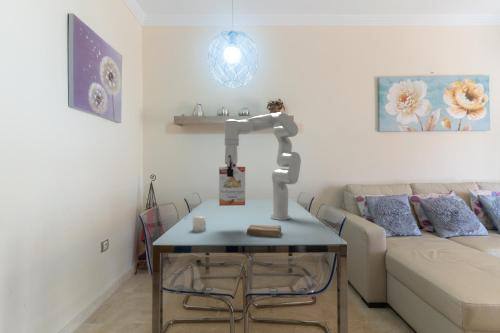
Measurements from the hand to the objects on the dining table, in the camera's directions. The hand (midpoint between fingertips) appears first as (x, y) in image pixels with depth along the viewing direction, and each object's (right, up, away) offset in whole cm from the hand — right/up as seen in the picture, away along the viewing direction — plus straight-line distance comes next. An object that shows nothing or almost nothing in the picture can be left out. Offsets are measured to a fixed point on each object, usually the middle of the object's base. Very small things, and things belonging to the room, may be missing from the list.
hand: (232, 175), depth 163 cm
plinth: (+17, -29, -10) cm, 35 cm away
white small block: (-17, -29, -2) cm, 34 cm away
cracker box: (0, -16, +1) cm, 16 cm away
